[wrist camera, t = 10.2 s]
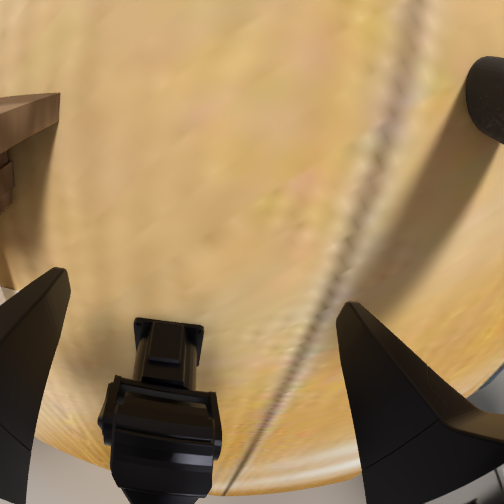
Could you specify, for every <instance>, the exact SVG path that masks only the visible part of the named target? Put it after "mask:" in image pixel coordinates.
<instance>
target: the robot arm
mask: <svg viewBox="0 0 504 504" xmlns="http://www.w3.org/2000/svg"><path fill="white" fill-rule="evenodd" d="M70 294H71V288H70V283H69V278H68V273H67V271H66V269H64V268H59V267H54V268H52V269H50V270H49V271H47V272H46V273H44V274H43V275H42V276H40V277H39V278H37V279H36V280H34V281H33V282H31V283H30V284H29V285H27V286H26V287H24V288H23V289H22V290H20V291H19V292H17V293H16V294H15V295H13V296H12V297H11V298H9V299H8V300H7V301H5V302H4V303H3V304H1V305H0V498H1V499H3V500H6V501H9V502H11V503H14V504H26V491H27V480H28V472H29V465H30V458H31V450H32V445H33V439H34V434H35V428H36V423H37V419H38V414H39V410H40V405H41V401H42V397H43V393H44V389H45V385H46V382H47V378H48V375H49V371H50V368H51V364H52V361H53V358H54V354H55V351H56V348H57V345H58V342H59V339H60V335H61V331H62V327H63V323H64V318H65V314H66V310H67V306H68V302H69V299H70ZM336 328H337V336H338V344H339V353H340V360H341V366H342V371H343V376H344V380H345V385H346V389H347V394H348V399H349V404H350V409H351V414H352V419H353V424H354V429H355V434H356V440H357V445H358V451H359V457H360V463H361V469H362V476H363V482H364V489H365V496H366V503H367V504H504V414H495V413H494V414H493V413H488V412H485V411H482V410H480V409H478V408H477V407H475V406H474V405H473V404H472V403H471V402H469V401H468V400H467V399H466V398H464V397H463V396H462V395H461V394H460V393H458V392H457V391H456V390H455V389H454V388H452V387H451V386H450V385H449V384H448V383H446V382H445V381H444V380H443V379H442V378H441V377H440V376H439V375H437V374H436V373H435V372H434V371H433V370H432V369H431V368H430V367H429V366H427V364H426V363H425V362H424V361H422V360H421V359H420V358H419V357H418V356H417V355H416V354H415V353H414V352H413V351H412V350H411V349H410V348H408V347H407V346H406V345H405V344H404V343H403V342H402V341H401V340H400V339H399V338H398V337H396V336H395V335H394V334H393V333H392V332H391V331H390V330H389V329H388V328H387V327H385V326H384V325H383V324H382V323H381V322H380V321H379V320H378V319H377V318H375V317H374V316H373V315H372V314H371V313H370V312H369V311H368V310H367V309H365V308H364V307H363V306H362V305H361V304H360V303H358V302H351V301H348V302H346V303H345V305H344V306H343V308H342V310H341V312H340V314H339V315H338V317H337V320H336ZM134 332H135V342H136V351H137V356H136V361H135V367H134V373H133V379H132V380H131V379H126V378H122V376H117V375H115V378H114V382H111V383H109V384H108V389H107V394H106V398H105V401H104V404H103V407H102V409H101V412H100V414H99V417H98V425H99V427H100V428H101V429H102V434H103V436H104V444H105V445H109V446H111V458H110V469H111V472H112V476H113V478H114V480H115V482H116V484H117V486H118V487H119V488H121V489H122V491H123V492H124V494H125V496H126V497H127V499H128V500H129V502H130V503H131V504H194V503H195V502H196V501H197V500H198V498H205V497H206V496H207V494H208V493H209V491H210V489H211V488H212V470H213V460H218V458H219V456H220V452H221V446H222V428H221V421H220V415H219V410H218V404H217V397H216V392H201V391H196V367H197V366H198V365H199V360H200V353H201V347H202V341H203V335H204V327H203V326H201V325H195V324H186V323H177V322H169V321H161V320H153V319H146V318H135V320H134Z"/></svg>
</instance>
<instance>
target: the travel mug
mask: <svg viewBox="0 0 504 504" xmlns="http://www.w3.org/2000/svg"><path fill="white" fill-rule="evenodd" d="M466 99H467V106H468V110H469V113H470V116H471V118H472V120H473V122H474V123H475V125H476V126H477V127H478V129H479V130H481V131H482V132H483V133H485V134H486V135H488V136H490V137H492V138H493V139H495V140H497V141H498V142H500V143H502V144H504V58H500V57H492V56H486V57H482V58H480V59H479V60H477V61H476V62H475V63H474V65H473V66H472V68H471V70H470V72H469V75H468V79H467V85H466Z"/></svg>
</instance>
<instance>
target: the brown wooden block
mask: <svg viewBox="0 0 504 504" xmlns="http://www.w3.org/2000/svg"><path fill="white" fill-rule="evenodd" d="M59 103H60V93H46V94H32V95H21V96H11V97H3V98H0V214H1V213H2V212H3V211H4V210H5V209H6V208H7V207H9V206H10V205H11V204H12V203H13V202H12V195H11V188H13V187H14V186H15V185H14V176H13V165H12V162H10V161H8V159H7V150H8V149H9V148H11V147H13V146H14V145H16V144H18V143H19V142H21V141H23V140H25V139H26V138H28V137H30V136H32V135H34V134H36V133H37V132H39V131H41V130H43V129H45V128H47V127H49V126H51V125H53V124H55V123H57V122H59Z"/></svg>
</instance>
